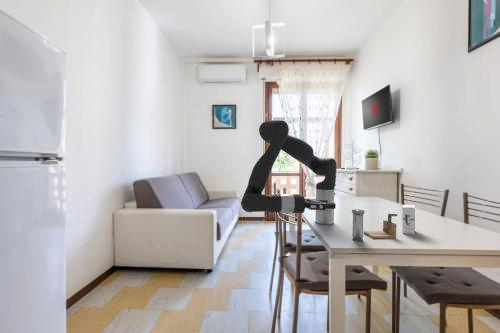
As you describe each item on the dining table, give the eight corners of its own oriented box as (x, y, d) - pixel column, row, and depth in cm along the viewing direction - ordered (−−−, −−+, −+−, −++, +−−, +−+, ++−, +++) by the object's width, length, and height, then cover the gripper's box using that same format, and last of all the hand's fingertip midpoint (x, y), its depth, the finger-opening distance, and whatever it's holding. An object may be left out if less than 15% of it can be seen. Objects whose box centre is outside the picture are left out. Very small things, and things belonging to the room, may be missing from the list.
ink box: (402, 229, 134) (403, 204, 133) (415, 230, 131) (415, 205, 131) (401, 233, 126) (402, 206, 126) (414, 235, 124) (415, 208, 123)
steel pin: (349, 238, 118) (349, 209, 117) (360, 238, 118) (361, 209, 118) (354, 241, 113) (355, 211, 113) (366, 241, 113) (366, 211, 113)
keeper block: (363, 233, 125) (364, 212, 125) (390, 233, 126) (391, 212, 126) (372, 238, 117) (373, 215, 117) (401, 238, 118) (402, 215, 118)
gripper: (296, 196, 106) (338, 197, 107) (287, 192, 120) (325, 193, 121) (295, 216, 106) (337, 217, 107) (287, 210, 120) (324, 210, 121)
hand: (331, 204), depth 114 cm, fingers open, 8 cm apart
